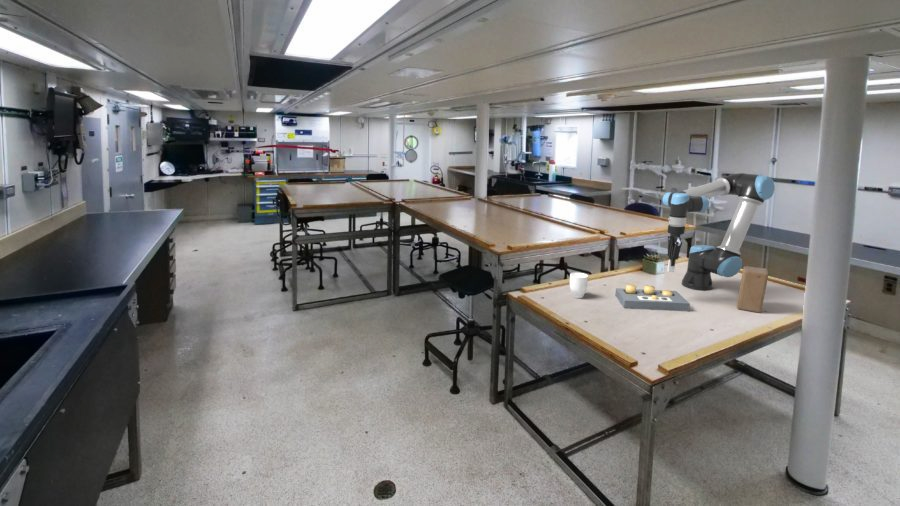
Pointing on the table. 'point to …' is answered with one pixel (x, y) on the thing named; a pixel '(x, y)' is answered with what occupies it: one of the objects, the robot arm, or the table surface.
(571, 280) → the mug
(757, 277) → the wooden block
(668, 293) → the button
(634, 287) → the button
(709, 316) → the table surface
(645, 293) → the button middle
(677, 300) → the console
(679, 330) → the table surface
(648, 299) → the card
